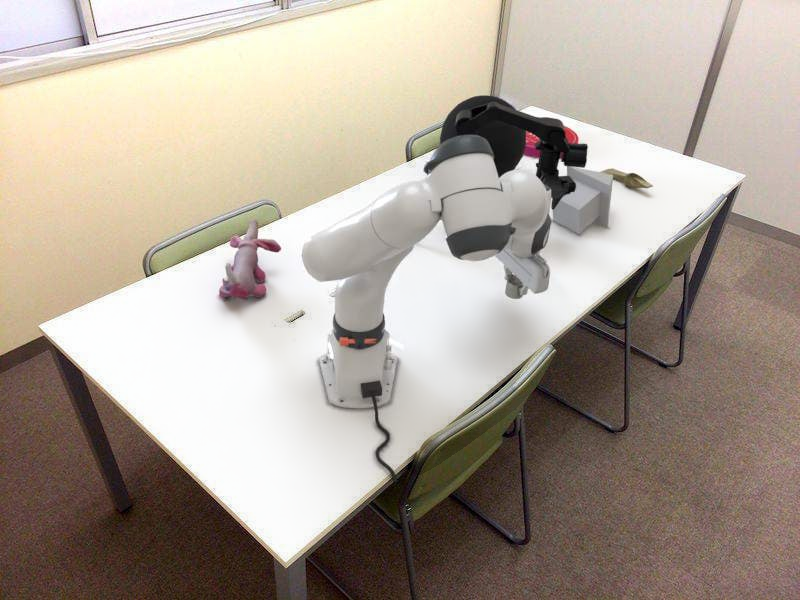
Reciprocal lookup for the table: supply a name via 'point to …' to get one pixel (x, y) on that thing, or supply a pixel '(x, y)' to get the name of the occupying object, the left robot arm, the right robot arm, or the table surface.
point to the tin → (513, 287)
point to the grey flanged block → (585, 200)
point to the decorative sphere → (491, 134)
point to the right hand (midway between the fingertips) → (538, 210)
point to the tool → (629, 178)
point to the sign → (532, 139)
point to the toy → (247, 265)
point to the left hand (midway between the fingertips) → (515, 286)
